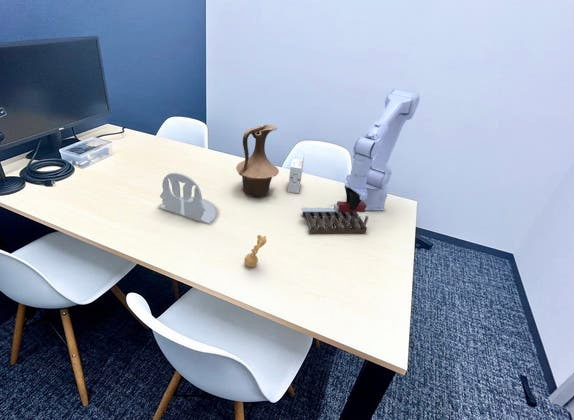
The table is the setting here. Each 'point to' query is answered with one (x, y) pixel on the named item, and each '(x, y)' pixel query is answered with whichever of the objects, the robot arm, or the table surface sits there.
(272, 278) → the table surface
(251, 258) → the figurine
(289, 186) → the ink cartridge box
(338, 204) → the knife
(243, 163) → the pitcher
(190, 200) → the ornament
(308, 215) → the drying rack
